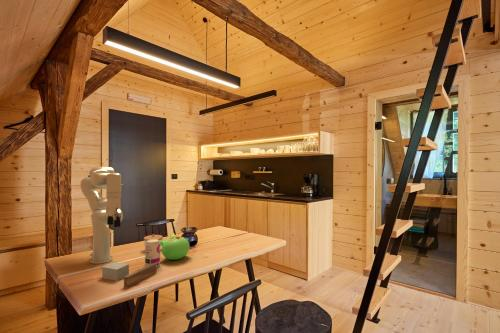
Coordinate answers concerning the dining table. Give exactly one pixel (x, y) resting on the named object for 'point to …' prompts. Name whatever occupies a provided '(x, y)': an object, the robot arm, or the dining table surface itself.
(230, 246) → the dining table surface
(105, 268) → the brick
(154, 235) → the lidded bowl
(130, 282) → the fence
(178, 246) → the green round body
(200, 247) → the dining table surface
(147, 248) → the supplement can
